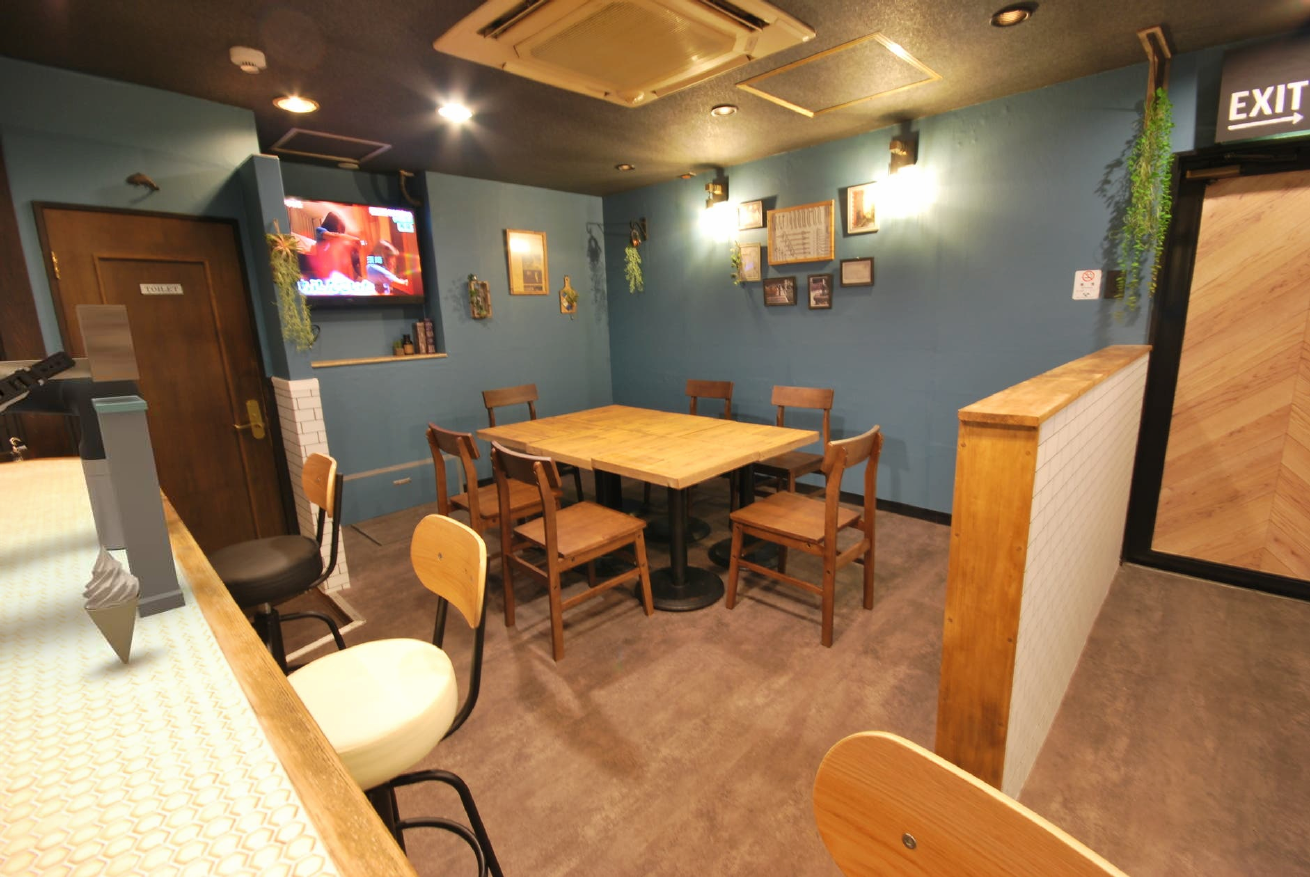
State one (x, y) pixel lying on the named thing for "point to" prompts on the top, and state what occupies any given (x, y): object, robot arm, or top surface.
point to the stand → (139, 502)
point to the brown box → (97, 347)
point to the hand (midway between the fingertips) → (69, 357)
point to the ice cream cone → (113, 602)
